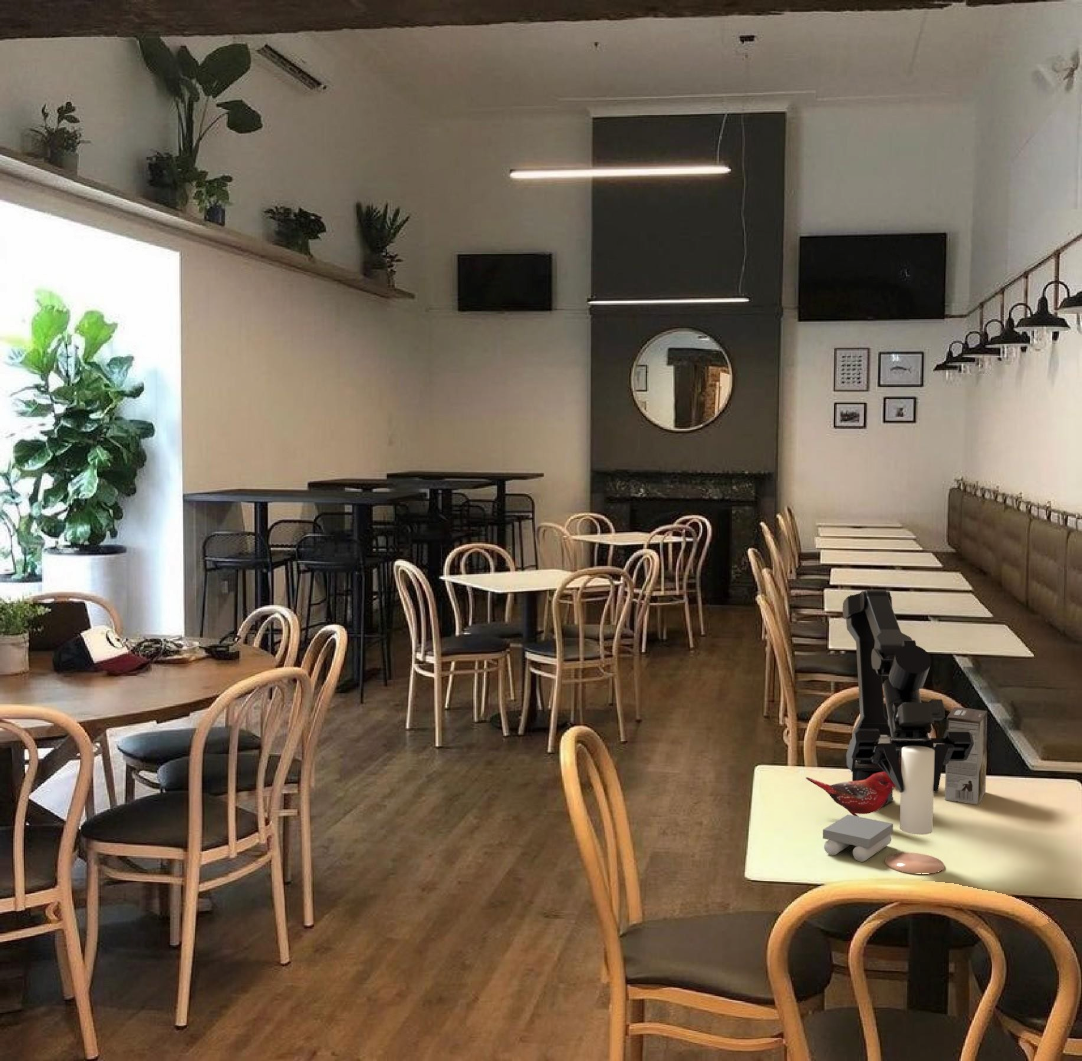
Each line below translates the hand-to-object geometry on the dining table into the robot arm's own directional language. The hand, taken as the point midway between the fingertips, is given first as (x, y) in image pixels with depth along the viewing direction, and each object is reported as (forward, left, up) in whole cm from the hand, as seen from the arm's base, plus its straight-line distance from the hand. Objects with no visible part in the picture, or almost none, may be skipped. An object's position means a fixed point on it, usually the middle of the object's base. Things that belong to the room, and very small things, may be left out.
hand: (919, 791), depth 194 cm
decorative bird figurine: (-18, +16, -13) cm, 27 cm away
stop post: (-1, +1, -7) cm, 7 cm away
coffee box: (-7, +43, -13) cm, 45 cm away
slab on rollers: (-11, +2, -12) cm, 17 cm away
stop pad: (-1, +1, -12) cm, 12 cm away
